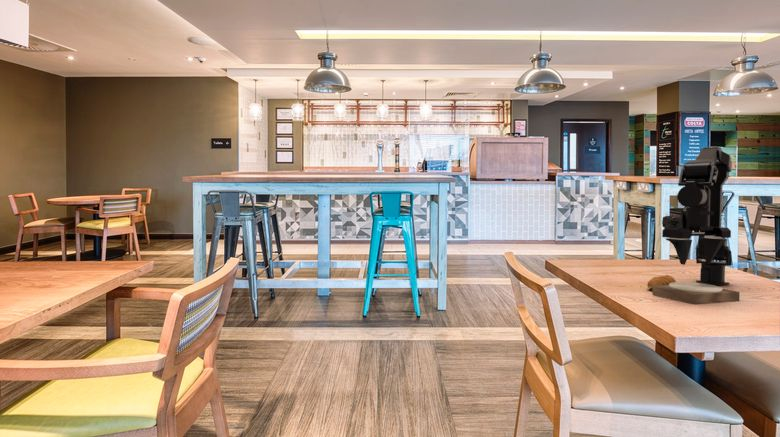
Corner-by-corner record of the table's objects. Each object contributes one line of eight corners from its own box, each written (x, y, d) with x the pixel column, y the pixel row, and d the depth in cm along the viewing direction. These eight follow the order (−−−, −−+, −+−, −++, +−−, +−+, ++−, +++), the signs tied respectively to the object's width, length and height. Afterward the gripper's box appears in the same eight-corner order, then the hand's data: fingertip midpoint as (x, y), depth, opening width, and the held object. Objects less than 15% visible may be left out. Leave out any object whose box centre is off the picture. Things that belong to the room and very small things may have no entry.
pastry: (663, 292, 137) (664, 279, 137) (640, 288, 143) (641, 275, 142) (679, 289, 142) (680, 276, 142) (656, 285, 148) (656, 273, 148)
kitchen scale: (694, 292, 140) (695, 280, 140) (739, 300, 127) (739, 288, 127) (652, 294, 135) (652, 283, 135) (694, 304, 122) (694, 291, 122)
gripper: (695, 207, 141) (694, 259, 141) (646, 206, 135) (645, 261, 135) (733, 207, 130) (731, 264, 131) (681, 207, 124) (679, 266, 125)
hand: (695, 263), depth 131 cm, fingers open, 9 cm apart
